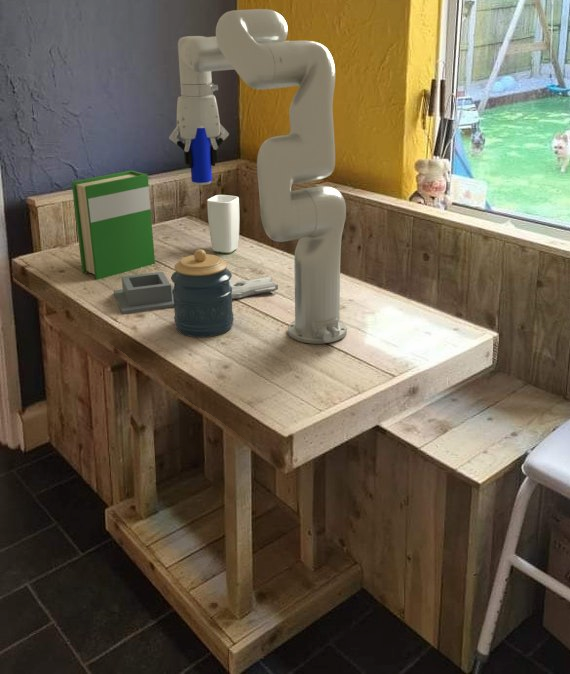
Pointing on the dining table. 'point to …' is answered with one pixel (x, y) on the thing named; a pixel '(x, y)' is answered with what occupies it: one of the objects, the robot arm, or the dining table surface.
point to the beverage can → (201, 158)
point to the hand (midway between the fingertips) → (201, 165)
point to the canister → (202, 295)
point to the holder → (144, 293)
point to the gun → (251, 287)
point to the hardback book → (114, 223)
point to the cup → (223, 222)
